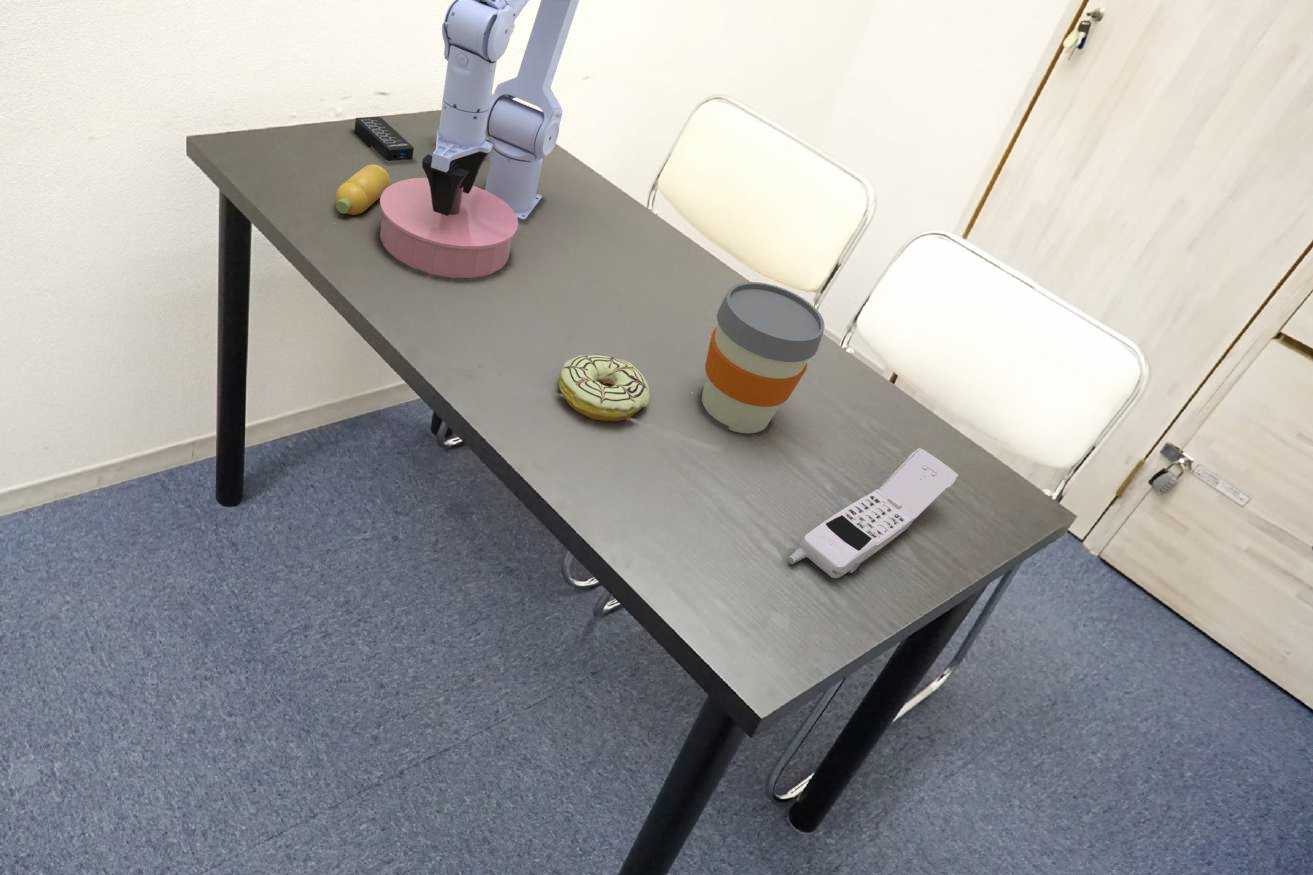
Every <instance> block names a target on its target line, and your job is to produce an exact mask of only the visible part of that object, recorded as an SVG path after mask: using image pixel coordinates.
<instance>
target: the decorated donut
mask: <svg viewBox="0 0 1313 875" xmlns="http://www.w3.org/2000/svg"><path fill="white" fill-rule="evenodd" d="M558 387H559V390H560V392H561V395H562V396H563V398H564V400H565V401H566V402H567V404H568V405H569V406H570V407H571V408H572V409H574V411H576V412H578V413H580V414H581V415H583V416H584V417H587V418H589V419H591V420H594V421H601V422H621V421H625V420H627V419H629V418H631V417H632V416H634V415H635V414H636V413H638V412H639V411H640V410H641V409H642V408H643V409H644V408H646V407H647V406H648V405H649V403H650V401H651V400H650V399H651V397H650V396H651V395H650V386H649V384H648V381H647V379H646V378H645V377H644V376H643V374H642V373H641V371H639V370H638V368H636V367H635V365H633V364H632V363H631V362H629V361H627V360H625V359H620V358H618V357H614V356H608V355H605V354H600V353H594V354H579V355H578V356H575V357H573V358H571V359H568V360H566V361H565V362H564V364H563V367H562V369H561V370H560V374H559V379H558Z"/></svg>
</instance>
